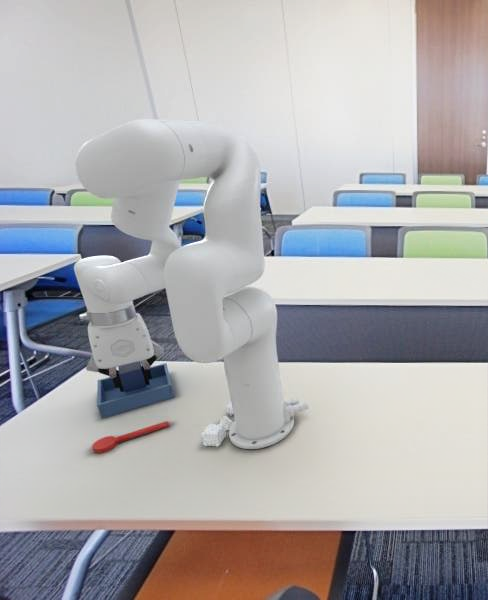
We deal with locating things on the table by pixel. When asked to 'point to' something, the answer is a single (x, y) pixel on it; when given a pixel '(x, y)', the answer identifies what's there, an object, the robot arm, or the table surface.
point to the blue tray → (134, 393)
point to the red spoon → (124, 438)
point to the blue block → (131, 377)
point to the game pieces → (217, 429)
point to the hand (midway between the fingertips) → (135, 384)
